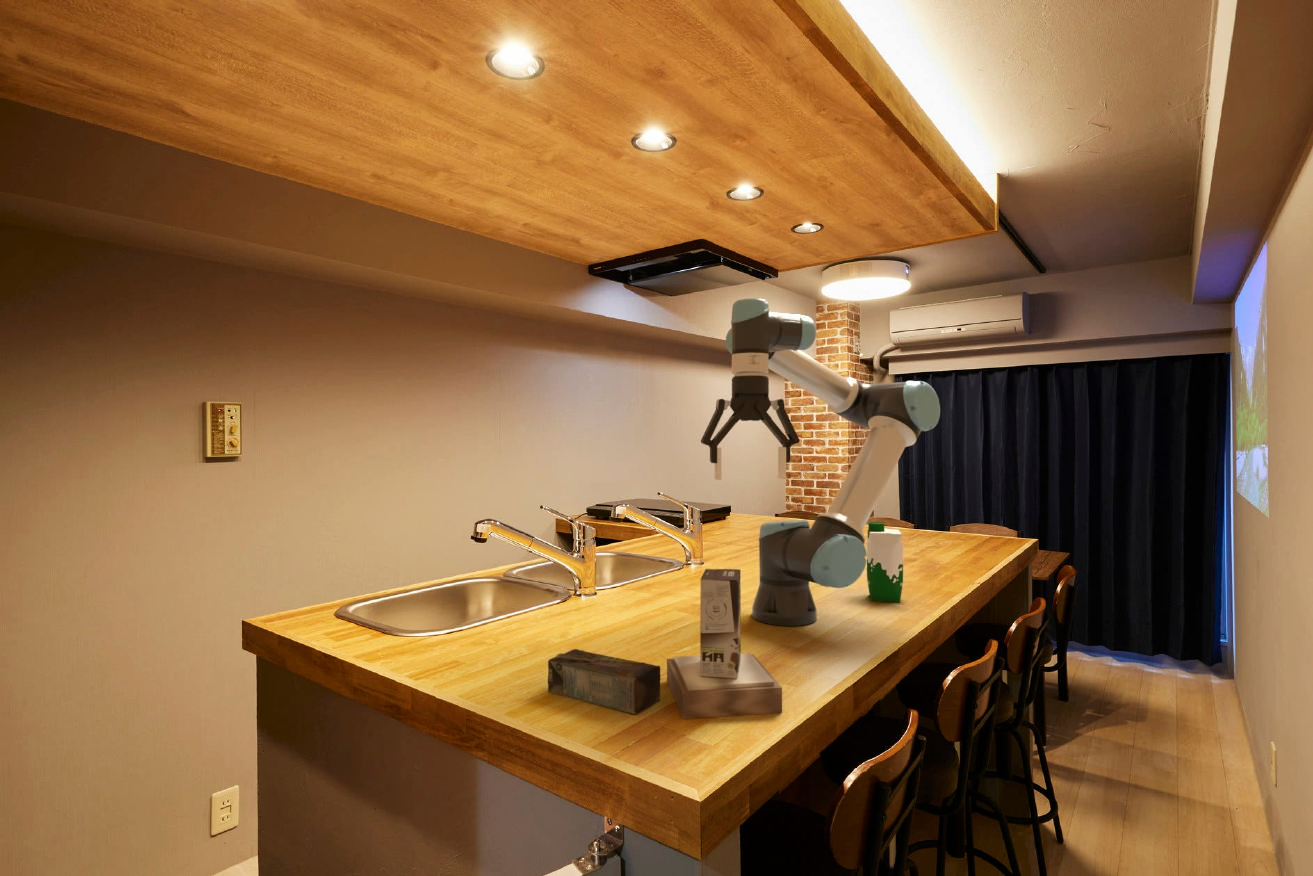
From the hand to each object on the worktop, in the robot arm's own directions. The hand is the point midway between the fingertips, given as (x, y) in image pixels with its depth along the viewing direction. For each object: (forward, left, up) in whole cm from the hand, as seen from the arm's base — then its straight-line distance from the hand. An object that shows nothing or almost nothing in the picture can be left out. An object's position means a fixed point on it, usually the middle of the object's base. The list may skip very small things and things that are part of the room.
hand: (750, 479), depth 139 cm
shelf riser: (+12, +24, -35) cm, 44 cm away
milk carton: (-46, -33, -35) cm, 67 cm away
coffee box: (+12, +24, -30) cm, 40 cm away
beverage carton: (+32, +21, -35) cm, 52 cm away
